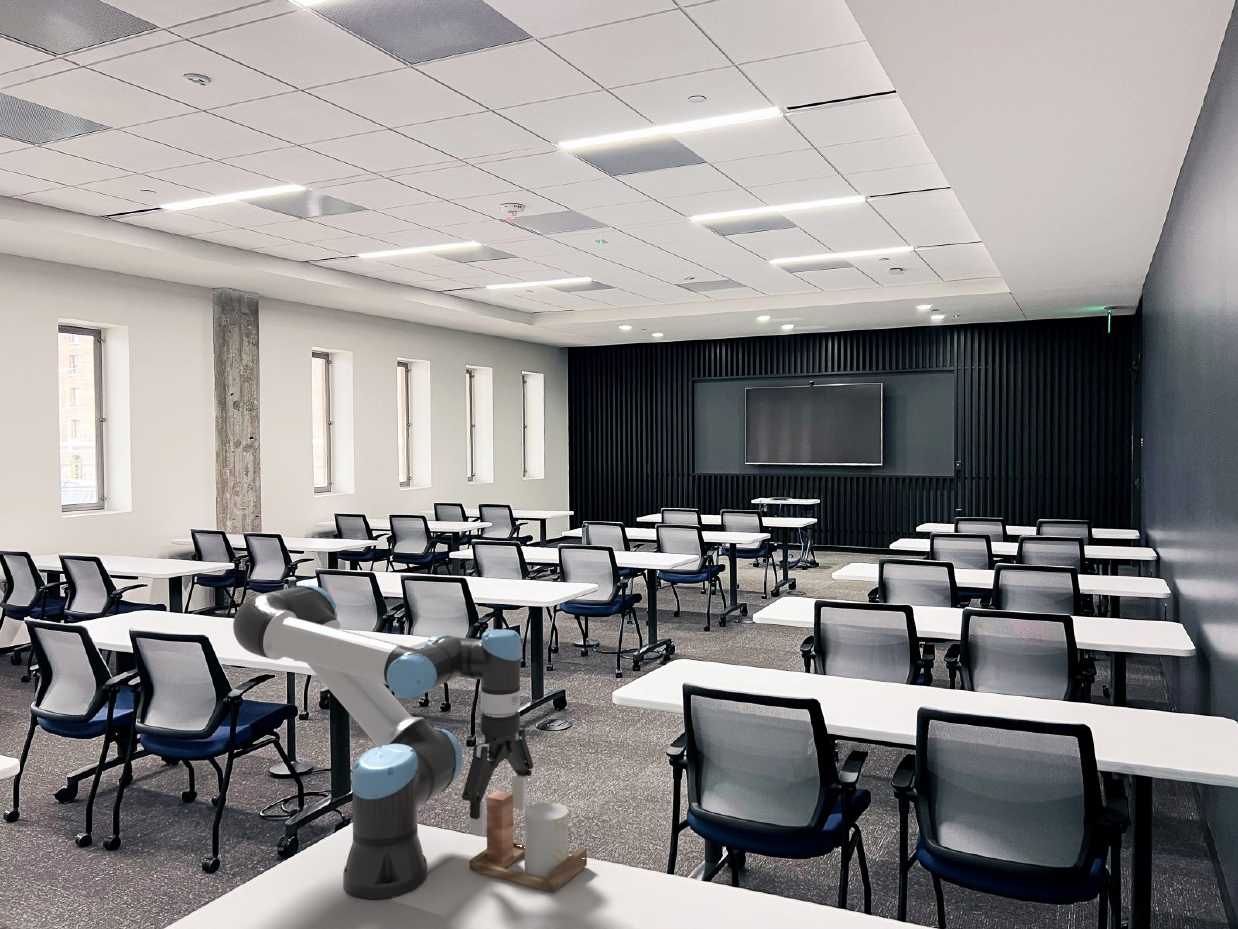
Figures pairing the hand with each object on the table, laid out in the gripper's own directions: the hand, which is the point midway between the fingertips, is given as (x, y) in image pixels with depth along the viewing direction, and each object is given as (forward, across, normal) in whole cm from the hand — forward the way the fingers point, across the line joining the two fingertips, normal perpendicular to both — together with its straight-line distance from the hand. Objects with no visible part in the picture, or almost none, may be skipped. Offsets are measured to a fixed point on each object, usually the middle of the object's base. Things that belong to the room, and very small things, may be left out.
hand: (498, 821), depth 173 cm
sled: (+8, 0, -7) cm, 10 cm away
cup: (+8, 0, -11) cm, 14 cm away
